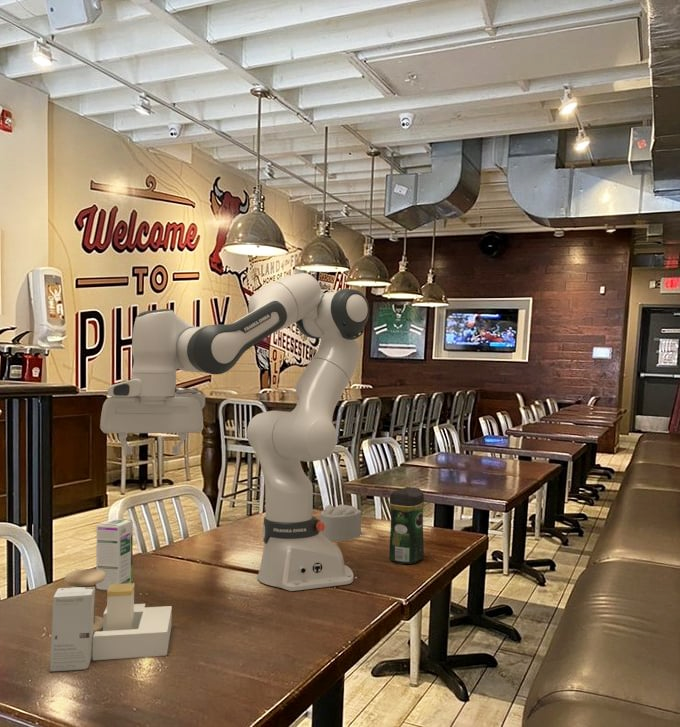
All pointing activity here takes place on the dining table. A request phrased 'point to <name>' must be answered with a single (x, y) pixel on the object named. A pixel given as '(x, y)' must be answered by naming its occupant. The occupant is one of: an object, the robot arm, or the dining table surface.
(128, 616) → the gold trimmed white carton
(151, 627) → the notched board
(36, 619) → the dining table surface
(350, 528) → the lumpy-topped squat cylinder
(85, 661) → the skincare box
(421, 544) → the coffee jar
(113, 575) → the syrup box
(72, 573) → the spool
